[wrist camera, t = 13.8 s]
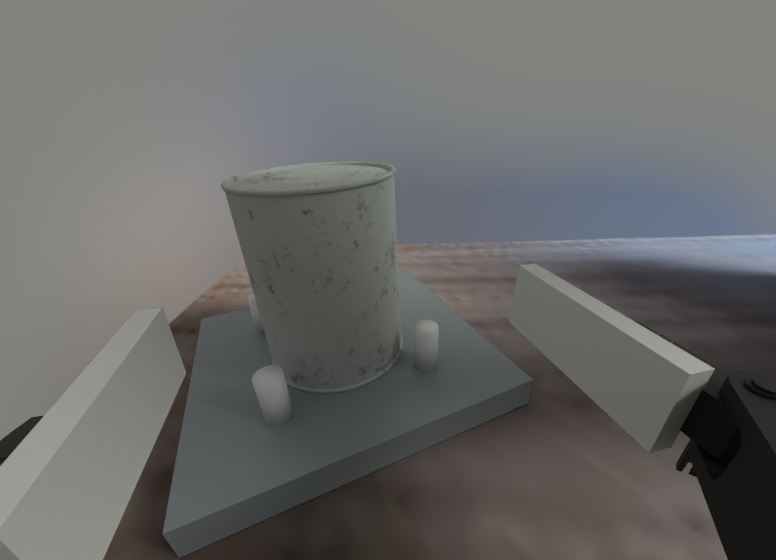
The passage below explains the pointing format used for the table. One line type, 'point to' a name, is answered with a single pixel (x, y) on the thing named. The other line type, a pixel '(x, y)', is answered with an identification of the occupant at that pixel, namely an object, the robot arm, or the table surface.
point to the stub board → (321, 416)
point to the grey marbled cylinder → (323, 268)
